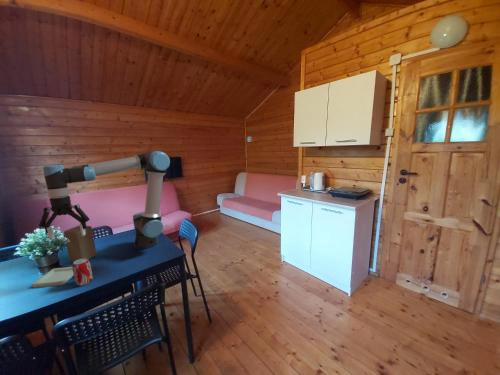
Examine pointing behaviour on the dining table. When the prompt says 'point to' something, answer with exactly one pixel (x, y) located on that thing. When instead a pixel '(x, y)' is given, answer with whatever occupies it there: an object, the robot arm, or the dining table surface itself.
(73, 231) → the block
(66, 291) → the dining table surface
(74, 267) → the soda can
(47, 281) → the tray
